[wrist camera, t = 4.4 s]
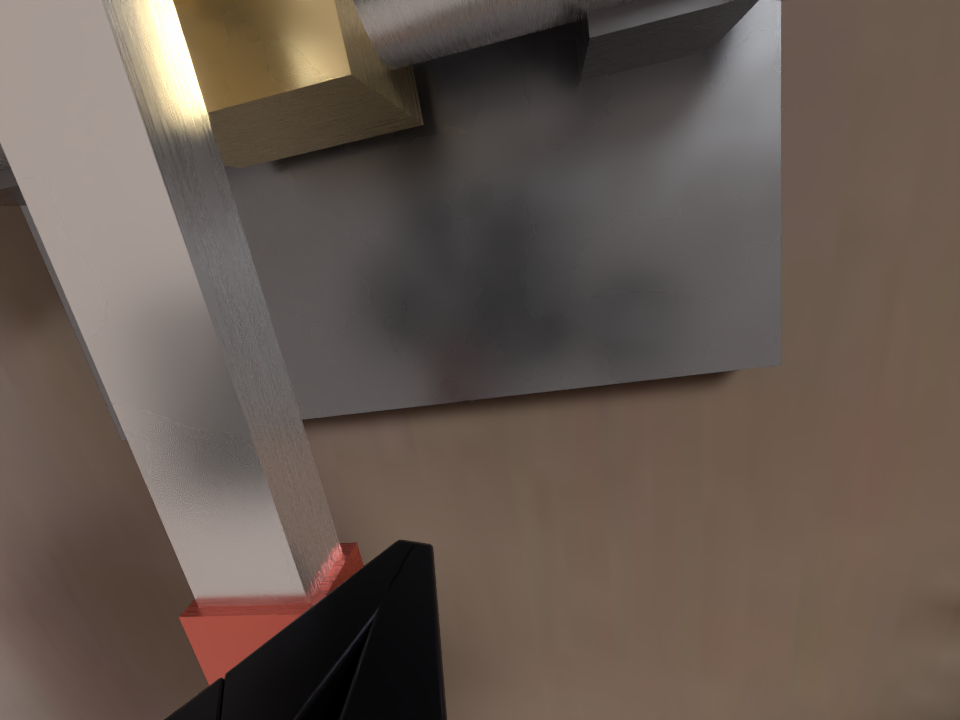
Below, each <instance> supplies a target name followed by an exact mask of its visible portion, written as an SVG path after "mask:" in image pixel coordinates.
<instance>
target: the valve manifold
mask: <svg viewBox="0 0 960 720" xmlns="http://www.w3.org/2000/svg"><path fill="white" fill-rule="evenodd" d="M173 3H174V6H175V9H176V12H177V16H178V19H179V22H180V25H181V29H182V32H183V35H184V38H185V42H186V45H187V48H188V51H189V55H190V58H191V61H192V64H193V68H194V71H195V74H196V77H197V81H198V84H199V87H200V90H201V94H202V97H203V100H204V103H205V107H206V110H207V113H208V116H209V120H210V123H211V126H212V129H213V133H214V136H215V139H216V142H217V146H218V149H219V152H220V155H221V159H222V162H223V165H224V168H225V172H226V175H227V178H228V181H229V185H230V188H231V191H232V194H233V198H234V201H235V204H236V207H237V211H238V214H239V217H240V220H241V224H242V227H243V230H244V233H245V237H246V240H247V243H248V246H249V250H250V253H251V256H252V259H253V263H254V266H255V269H256V272H257V276H258V279H259V282H260V286H261V289H262V292H263V295H264V299H265V302H266V305H267V308H268V312H269V315H270V318H271V321H272V325H273V328H274V331H275V334H276V338H277V341H278V344H279V347H280V351H281V354H282V357H283V360H284V364H285V367H286V370H287V373H288V377H289V380H290V383H291V386H292V390H293V393H294V396H295V399H296V403H297V406H298V409H299V412H300V416H301V419H302V420H303V419H312V418H321V417H330V416H338V415H347V414H356V413H365V412H373V411H382V410H391V409H400V408H408V407H417V406H426V405H435V404H443V403H452V402H461V401H470V400H478V399H487V398H496V397H505V396H513V395H522V394H531V393H540V392H549V391H557V390H566V389H575V388H584V387H592V386H601V385H610V384H619V383H627V382H636V381H645V380H654V379H662V378H671V377H680V376H689V375H697V374H706V373H715V372H724V371H732V370H741V369H750V368H759V367H768V366H776V365H781V0H173ZM0 205H11V206H20V207H21V209H22V212H23V214H24V216H25V218H26V221H27V223H28V225H29V228H30V230H31V232H32V235H33V237H34V239H35V241H36V244H37V246H38V248H39V251H40V253H41V255H42V258H43V260H44V262H45V265H46V267H47V269H48V271H49V274H50V276H51V278H52V281H53V283H54V285H55V288H56V290H57V292H58V294H59V297H60V299H61V301H62V304H63V306H64V308H65V311H66V313H67V315H68V318H69V320H70V322H71V324H72V327H73V329H74V331H75V334H76V336H77V338H78V341H79V343H80V345H81V347H82V350H83V352H84V354H85V357H86V359H87V361H88V364H89V366H90V368H91V371H92V373H93V375H94V377H95V380H96V382H97V384H98V387H99V389H100V391H101V394H102V396H103V398H104V400H105V403H106V405H107V407H108V410H109V412H110V414H111V417H112V419H113V421H114V423H115V426H116V428H117V430H118V433H119V435H120V437H121V440H127V438H126V436H125V434H124V431H123V429H122V427H121V424H120V422H119V419H118V417H117V415H116V412H115V410H114V408H113V405H112V403H111V401H110V398H109V396H108V394H107V391H106V389H105V387H104V384H103V382H102V380H101V377H100V375H99V373H98V370H97V368H96V366H95V363H94V361H93V359H92V356H91V354H90V352H89V349H88V347H87V345H86V342H85V340H84V338H83V335H82V333H81V330H80V328H79V326H78V323H77V321H76V319H75V316H74V314H73V312H72V309H71V307H70V305H69V302H68V300H67V298H66V295H65V293H64V291H63V288H62V286H61V284H60V281H59V279H58V277H57V274H56V272H55V270H54V267H53V265H52V263H51V260H50V258H49V256H48V253H47V251H46V249H45V246H44V244H43V241H42V239H41V237H40V234H39V232H38V230H37V227H36V225H35V223H34V220H33V218H32V216H31V213H30V211H29V209H28V206H27V204H26V202H25V199H24V197H23V195H22V192H21V190H20V188H19V185H18V183H17V181H16V178H15V176H14V174H13V171H12V169H11V167H10V164H9V162H8V160H7V157H6V155H5V152H4V150H3V148H2V145H1V143H0Z"/></svg>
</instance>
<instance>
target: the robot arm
mask: <svg viewBox="0 0 960 720" xmlns="http://www.w3.org/2000/svg"><path fill="white" fill-rule="evenodd" d="M164 720H447V712H446V700H445V688H444V675H443V663H442V651H441V638H440V626H439V614H438V601H437V589H436V577H435V564H434V552H433V546H432V545H431V544H426V543H420V542H413V541H407V540H398V541H396V542H395V543H394V544H392V545H391V546H390V547H388V548H387V549H386V550H384V551H383V552H382V553H381V554H379V555H378V556H377V557H375V558H374V559H373V560H372V561H370V562H369V563H368V564H366V565H365V566H364V567H362V568H361V569H360V570H359V571H357V572H356V573H355V574H353V575H352V576H351V577H350V578H348V579H347V580H346V581H344V582H343V583H342V584H341V585H339V586H338V587H337V588H335V589H334V590H333V591H331V592H330V593H329V594H328V595H326V596H325V597H324V598H322V599H321V600H320V601H319V602H317V603H316V604H315V605H313V606H312V607H311V608H309V609H308V610H307V611H306V612H304V613H303V614H302V615H300V616H299V617H298V618H297V619H295V620H294V621H293V622H291V623H290V624H289V625H287V626H286V627H285V628H284V629H282V630H281V631H280V632H278V633H277V634H276V635H275V636H273V637H272V638H271V639H269V640H268V641H267V642H265V643H264V644H263V645H262V646H260V647H259V648H258V649H256V650H255V651H254V652H253V653H251V654H250V655H249V656H247V657H246V658H245V659H244V660H242V661H241V662H240V663H238V664H237V665H236V666H234V667H233V668H232V669H231V670H229V671H228V672H227V673H226V674H225V677H224V678H219V679H217V680H216V681H215V682H213V683H212V684H211V685H210V686H208V687H207V688H206V689H204V690H203V691H202V692H201V693H199V694H198V695H197V696H195V697H194V698H193V699H191V700H190V701H189V702H187V703H186V704H185V705H183V706H182V707H181V708H179V709H178V710H177V711H175V712H174V713H172V714H171V715H170V716H168V717H167V718H166V719H164Z"/></svg>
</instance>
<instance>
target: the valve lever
mask: <svg viewBox="0 0 960 720" xmlns="http://www.w3.org/2000/svg"><path fill="white" fill-rule="evenodd" d="M0 143H1V145H2V148H3V150H4V152H5V155H6V157H7V160H8V162H9V164H10V167H11V169H12V171H13V174H14V176H15V178H16V181H17V183H18V185H19V188H20V190H21V192H22V195H23V197H24V199H25V202H26V204H27V206H28V209H29V211H30V213H31V216H32V218H33V220H34V223H35V225H36V227H37V230H38V232H39V234H40V237H41V239H42V241H43V244H44V246H45V249H46V251H47V253H48V256H49V258H50V260H51V263H52V265H53V267H54V270H55V272H56V274H57V277H58V279H59V281H60V284H61V286H62V288H63V291H64V293H65V295H66V298H67V300H68V302H69V305H70V307H71V309H72V312H73V314H74V316H75V319H76V321H77V323H78V326H79V328H80V330H81V333H82V335H83V338H84V340H85V342H86V345H87V347H88V349H89V352H90V354H91V356H92V359H93V361H94V363H95V366H96V368H97V370H98V373H99V375H100V377H101V380H102V382H103V384H104V387H105V389H106V391H107V394H108V396H109V398H110V401H111V403H112V405H113V408H114V410H115V412H116V415H117V417H118V419H119V422H120V424H121V427H122V429H123V431H124V434H125V436H126V438H127V441H128V443H129V445H130V448H131V450H132V452H133V455H134V457H135V459H136V462H137V464H138V466H139V469H140V471H141V473H142V476H143V478H144V480H145V483H146V485H147V487H148V490H149V492H150V494H151V497H152V499H153V501H154V504H155V506H156V509H157V511H158V513H159V516H160V518H161V520H162V523H163V525H164V527H165V530H166V532H167V534H168V537H169V539H170V541H171V544H172V546H173V548H174V551H175V553H176V555H177V558H178V560H179V562H180V565H181V567H182V569H183V572H184V574H185V576H186V579H187V581H188V583H189V586H190V588H191V590H192V593H193V595H194V598H195V600H194V601H193V602H192V603H191V604H190V605H189V606H188V608H187V609H186V610H185V611H184V612H183V613H182V614H181V615H180V616H179V619H180V621H181V623H182V626H183V628H184V630H185V632H186V635H187V637H188V639H189V641H190V644H191V646H192V648H193V650H194V653H195V655H196V657H197V659H198V662H199V664H200V666H201V668H202V670H203V673H204V675H205V677H206V679H207V682H208V684H209V686H210V685H211V684H212V683H213V682H215V681H216V680H217V679H219V678H224V677H225V674H226V673H227V672H228V671H229V670H231V669H232V668H233V667H234V666H236V665H237V664H238V663H240V662H241V661H242V660H244V659H245V658H246V657H247V656H249V655H250V654H251V653H253V652H254V651H255V650H256V649H258V648H259V647H260V646H262V645H263V644H264V643H265V642H267V641H268V640H269V639H271V638H272V637H273V636H275V635H276V634H277V633H278V632H280V631H281V630H282V629H284V628H285V627H286V626H287V625H289V624H290V623H291V622H293V621H294V620H295V619H297V618H298V617H299V616H300V615H302V614H303V613H304V612H306V611H307V610H308V609H309V608H311V607H312V606H313V605H315V604H316V603H317V602H319V601H320V600H321V599H322V598H324V597H325V596H326V595H328V594H329V593H330V592H331V591H333V590H334V589H335V588H337V587H338V586H339V585H341V584H342V583H343V582H344V581H346V580H347V579H348V578H350V577H351V576H352V575H353V574H355V573H356V572H357V571H359V570H360V569H361V568H362V567H364V565H363V562H362V559H361V555H360V552H359V549H358V545H357V543H340V542H339V539H338V536H337V533H336V529H335V526H334V523H333V520H332V516H331V513H330V510H329V507H328V503H327V500H326V497H325V494H324V490H323V487H322V484H321V481H320V477H319V474H318V471H317V468H316V464H315V461H314V458H313V455H312V451H311V448H310V445H309V442H308V438H307V435H306V432H305V429H304V425H303V422H302V419H301V416H300V412H299V409H298V406H297V403H296V399H295V396H294V393H293V390H292V386H291V383H290V380H289V377H288V373H287V370H286V367H285V364H284V360H283V357H282V354H281V351H280V347H279V344H278V341H277V338H276V334H275V331H274V328H273V325H272V321H271V318H270V315H269V312H268V308H267V305H266V302H265V299H264V295H263V292H262V289H261V286H260V282H259V279H258V276H257V272H256V269H255V266H254V263H253V259H252V256H251V253H250V250H249V246H248V243H247V240H246V237H245V233H244V230H243V227H242V224H241V220H240V217H239V214H238V211H237V207H236V204H235V201H234V198H233V194H232V191H231V188H230V185H229V181H228V178H227V175H226V172H225V168H224V165H223V162H222V159H221V155H220V152H219V149H218V146H217V142H216V139H215V136H214V133H213V129H212V126H211V123H210V120H209V116H208V113H207V110H206V107H205V103H204V100H203V97H202V94H201V90H200V87H199V84H198V81H197V77H196V74H195V71H194V68H193V64H192V61H191V58H190V55H189V51H188V48H187V45H186V42H185V38H184V35H183V32H182V29H181V25H180V22H179V19H178V16H177V12H176V9H175V6H174V3H173V0H0Z"/></svg>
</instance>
